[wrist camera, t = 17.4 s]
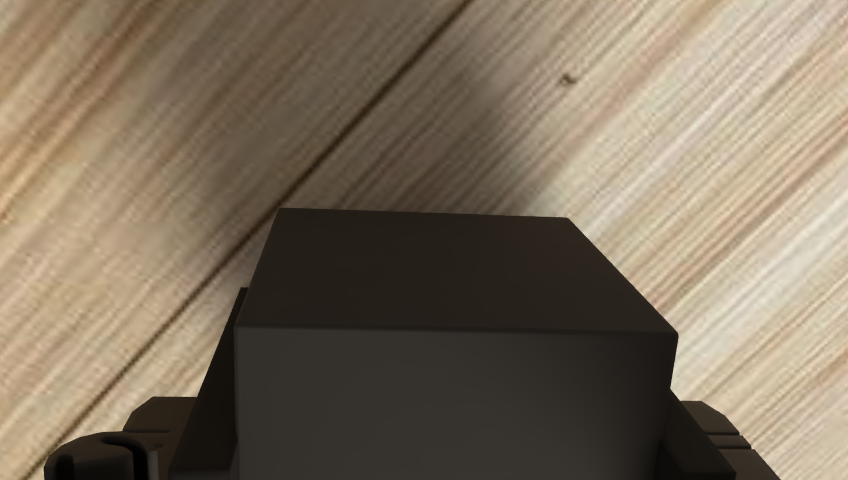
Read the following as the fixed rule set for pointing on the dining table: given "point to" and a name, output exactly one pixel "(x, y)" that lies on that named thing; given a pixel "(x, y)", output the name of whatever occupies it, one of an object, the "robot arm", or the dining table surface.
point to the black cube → (445, 352)
